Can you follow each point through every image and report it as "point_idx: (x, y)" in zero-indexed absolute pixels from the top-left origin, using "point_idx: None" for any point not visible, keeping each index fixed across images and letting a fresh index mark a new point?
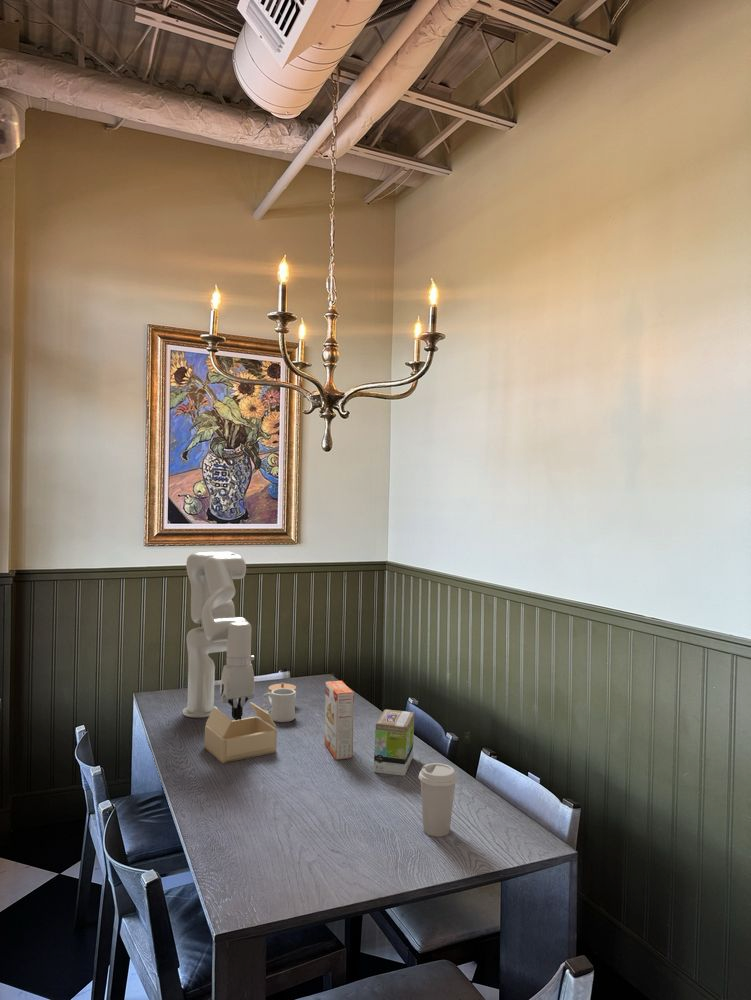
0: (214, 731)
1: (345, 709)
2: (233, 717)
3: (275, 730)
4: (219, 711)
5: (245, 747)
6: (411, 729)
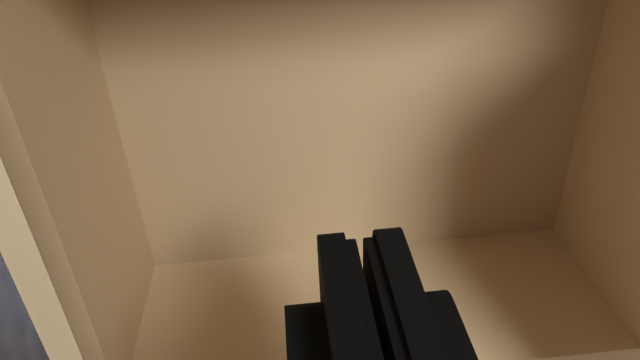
0: (41, 195)
1: None
2: (319, 263)
3: (636, 357)
4: (28, 308)
5: None
6: None
